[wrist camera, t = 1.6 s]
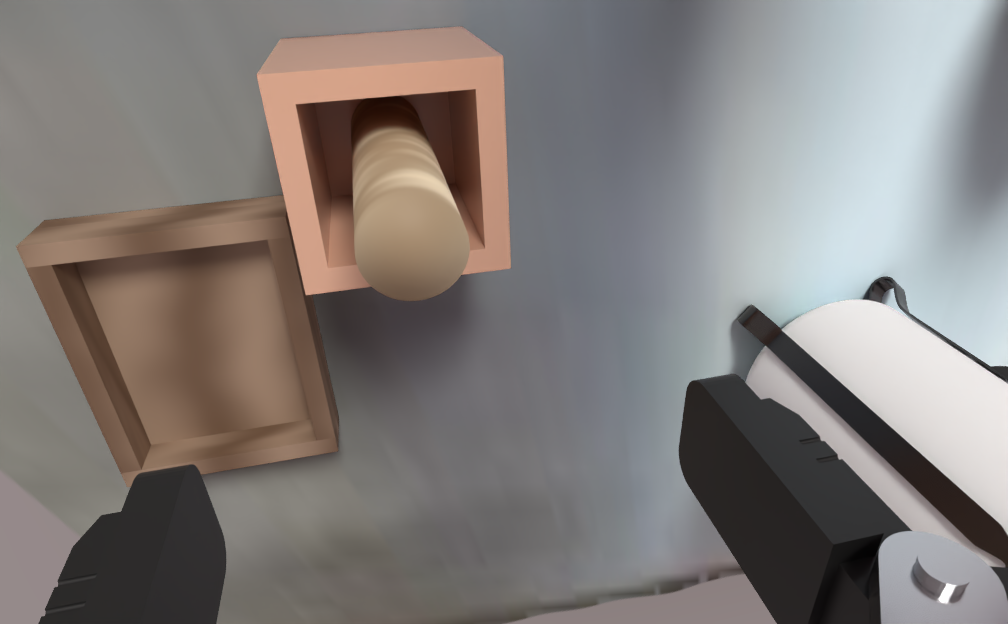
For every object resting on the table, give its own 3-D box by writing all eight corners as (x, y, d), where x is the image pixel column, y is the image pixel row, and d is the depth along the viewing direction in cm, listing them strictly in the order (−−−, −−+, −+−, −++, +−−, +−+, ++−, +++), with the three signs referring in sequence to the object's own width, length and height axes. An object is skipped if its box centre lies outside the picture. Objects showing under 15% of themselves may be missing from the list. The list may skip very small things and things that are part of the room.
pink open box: (461, 26, 29) (503, 56, 22) (473, 193, 33) (510, 268, 26) (280, 38, 28) (256, 74, 20) (315, 211, 32) (305, 295, 24)
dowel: (417, 89, 29) (465, 189, 17) (424, 158, 31) (473, 293, 19) (345, 95, 29) (345, 202, 17) (356, 165, 30) (363, 308, 19)
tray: (290, 194, 31) (285, 216, 29) (338, 417, 38) (338, 451, 36) (44, 220, 30) (15, 246, 27) (142, 449, 37) (127, 487, 34)
